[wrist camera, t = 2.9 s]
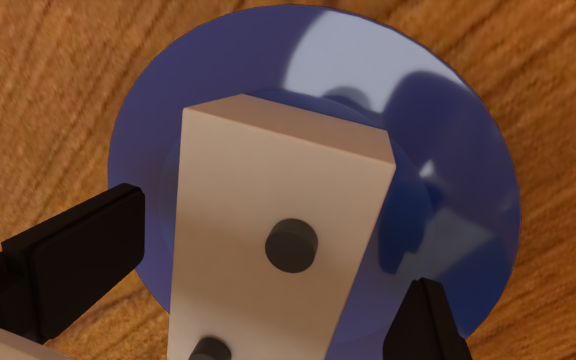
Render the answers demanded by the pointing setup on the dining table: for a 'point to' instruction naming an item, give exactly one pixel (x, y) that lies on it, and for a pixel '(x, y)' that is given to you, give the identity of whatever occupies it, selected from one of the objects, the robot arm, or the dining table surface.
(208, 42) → the plate
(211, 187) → the controller
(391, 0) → the dining table surface
